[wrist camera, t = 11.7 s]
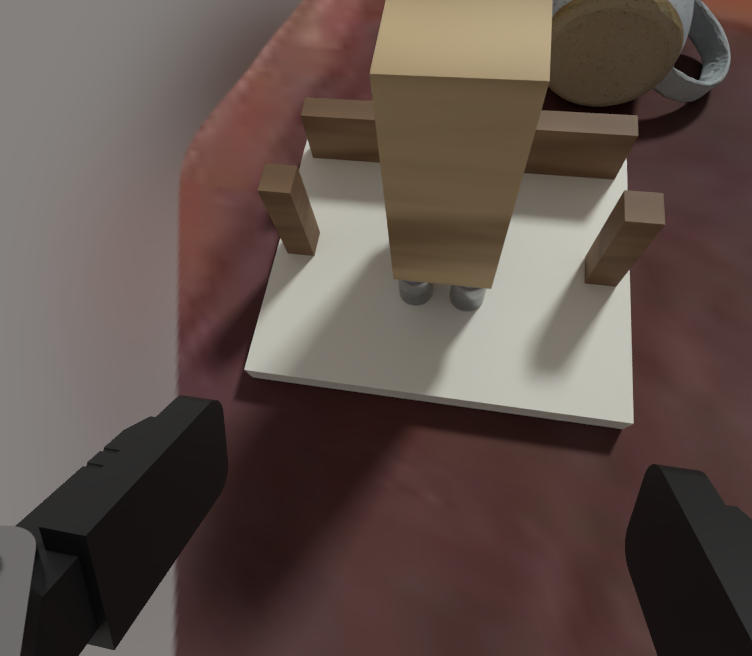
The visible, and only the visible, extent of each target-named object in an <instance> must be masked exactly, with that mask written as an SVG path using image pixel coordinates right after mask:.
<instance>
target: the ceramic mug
mask: <svg viewBox="0 0 752 656" xmlns="http://www.w3.org/2000/svg"><path fill="white" fill-rule="evenodd" d="M687 36H688V37H689V38H690V40H691V41H692V42H693V44H694V46H695V47H696V49H697V51H698V53H699V54H700V56H701V58H702V59H701V61H702V63H703V65H702V66H703V67H702V71H701V75H700V79H699V80H695V79H694V78H691V77H689V76H687V75H685V74H684V73H683V72H681V71H679V70H677V69H675V68H674V64H675V62H676V61H677V59H678V57H679V55H680V53H681V51H682V49H683V47H684V44H685V42H686V40H687ZM730 58H731V55H730V48H729V44H728V40H727V37H726V35H725V32H724V30H723V28H722V27H721V25H720V23H719V22H718V20H717V19H716V17H715V16H714V15H713V14H712V13H711V12H710V10H709V9H708V7H707V6H706V5H705V4H704V3H703V2H702V1H701V0H553V4H552V31H551V57H550V81H549V85H548V87H549V88H550V89H551V90H552V91H553V92H554V93H556V94H557V95H558V96H560V97H561V98H563V99H565V100H567V101H570V102H572V103H575V104H578V105H585V106H592V107H604V106H612V105H617V104H622V103H625V102H628V101H631V100H633V99H635V98H637V97H639V96H641V95H644V94H646V93H647V92H648V91H650V90H651V89H654V90H655V91H656V92H657V93H659V94H660V95H662V96H663V97H666V98H668V99H673V100H675V101H679V102H691V101H695V100H697V99H699V98H701V97H702V96H703V95H704V94H706V93H707V92H708V91H710V90H711V89H713V88H714V87H715V86H717V85H718V84H719V83H721V82H722V80H723V79H724V77H725V76H726V74H727V72H728V70H729V66H730Z"/></svg>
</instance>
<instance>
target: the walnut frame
mask: <svg viewBox="0 0 752 656" xmlns="http://www.w3.org/2000/svg"><path fill="white" fill-rule="evenodd" d="M301 119H302V122H303V125H304V129H305V132H306V136H307V139H308V142H309V146H310V149H311V153H312V156H313V158H322V159H336V160H350V161H363V162H377V163H380V159H379V150H378V141H377V133H376V124H375V115H374V107H373V101H362V100H343V99H325V98H306V99H305V102H304V106H303V109H302V113H301ZM637 138H638V116H637V115H619V114H600V113H582V112H564V111H545V110H541V114H540V117H539V121H538V124H537V128H536V131H535V135H534V139H533V142H532V146H531V149H530V153H529V156H528V160H527V163H526V167H525V171H524V173H529V174H543V175H557V176H571V177H585V178H599V179H612V180H615V178H616V176H617V174H618V173H619V171H620V169H621V167H622V165H623V163H624V161H625V160H626V158H627V156H628V154H629V152H630V150H631V149H632V147H633V145H634V143H635V141H636V139H637ZM257 191H258V193H259V195H260V197H261V199H262V201H263V203H264V205H265V207H266V209H267V211H268V213H269V216H270V218H271V220H272V222H273V224H274V226H275V228H276V230H277V232H278V234H279V236H280V238H281V240H282V242H283V245H284V247H285V249H286V251H287V253H289V254H299V255H309V256H315V252H316V248H317V243H318V239H319V235H320V231H319V228H318V225H317V222H316V219H315V216H314V213H313V210H312V207H311V204H310V201H309V198H308V195H307V192H306V190H305V187H304V184H303V181H302V178H301V175H300V172H299V169H298V166H294V165H280V164H267V163H266V164H265V167H264V170H263V174H262V177H261V180H260V183H259V187H258V190H257ZM664 225H665V214H664V197H663V193H654V192H640V191H627V190H624V192H623V193H622V195H621V197H620V198H619V200H618V202H617V204H616V205H615V207H614V209H613V210H612V212H611V214H610V215H609V217H608V219H607V221H606V222H605V224H604V226H603V227H602V229H601V231H600V232H599V234H598V236H597V238H596V239H595V241H594V243H593V244H592V246H591V248H590V249H589V251H588V253H587V255H586V256H585V284H595V285H605V286H615V287H616V286H617V285H618V284H619V283H620V281H621V280H622V279H623V277H624V276H625V275H626V274H627V272H628V271H629V270H630V269H631V267H632V266H633V265H634V263H635V262H636V261H637V260H638V258H639V257H640V256H641V254H642V253H643V252H644V251H645V249H646V248H647V247H648V246H649V244H650V243H651V242H652V240H653V239H654V238H655V237H656V235H657V234H658V233H659V232H660V230H661V229H662V228H663V226H664Z"/></svg>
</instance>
